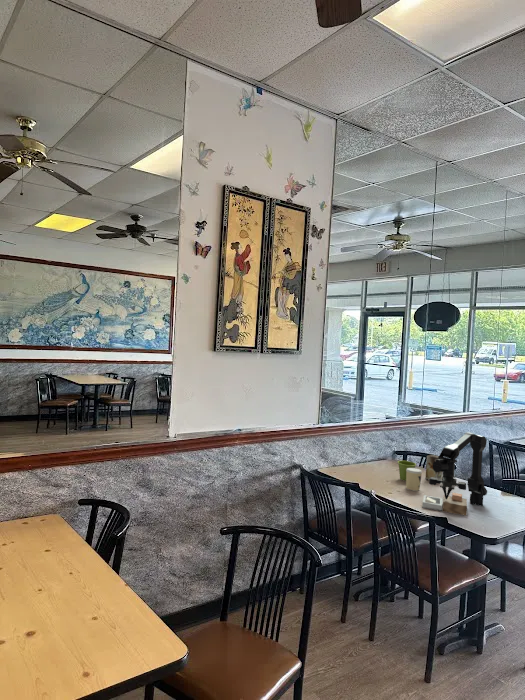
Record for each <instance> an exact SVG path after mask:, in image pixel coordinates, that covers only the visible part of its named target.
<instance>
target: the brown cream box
mask: <svg viewBox="0 0 525 700" xmlns="http://www.w3.org/2000/svg"><path fill="white" fill-rule="evenodd" d="M442 498H443V499H442V511H441V512H444V513H449V514H456V515H460V516H461V515H462V516H467V510H468V501H467V500H468V499H467V498H463V497H462V501H458V500H452V495H451V496H450V495H449V496H448V498H447V499H445V495H444V494H443V496H442Z"/></svg>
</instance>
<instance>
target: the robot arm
mask: <svg viewBox="0 0 525 700" xmlns="http://www.w3.org/2000/svg"><path fill="white" fill-rule="evenodd" d="M487 443H488V440H487V438H486V437H485V436H483V435H479V434H475V433H473V432H470V431H469V432H467V431H466V432H464V434H463V435H462V436H461V437H460V438H459V439H457V440H456V441H455V442H454V443H453V444H452V443H451V444H448V445H446V446H444V447H443V448H442V449H441V452H440V454H439V455H438V456H439V457H438V459H436V461H435V462H434V463H433V465H432V467H433V470H434V471H435V472H442V480H437V478H434V477H430V480H428V482H429V483H428V484H429V485H432V486H436V485H437V484H439V485H440V486H439V487H440V488H442V492H443V496H444V495H445V499H447V498H448V496H450V494H451V492H452V491H453V490H455V487H457V488H458V489H459V490H462V491H466V490H468V492H471V493H469V502H470V505H473V506H474V505H475V506H476V505H477V506H481V507H484V496H485V497H486V496H487V493H488V490H487V488H486V486H485V481H484V479H483V476H482V469H483V467H482V466H483V451H484V450H485V449H486V447H487ZM469 444H470V447H471V449H472V460H471V461H472V462H471V463H472V464H471V476H470V477H468V478H467V483H466V482H464V481H457V480H458V479H457V478H454V477H455V467H456V465H455V464H456V463H458V460H457V458H458V457H459V456H460V452H461V451H462V450H463V449H464V448H465V447H467V446H468V445H469Z"/></svg>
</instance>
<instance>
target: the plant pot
mask: <svg viewBox="0 0 525 700" xmlns="http://www.w3.org/2000/svg"><path fill="white" fill-rule="evenodd" d="M397 464H398V470H399V471H398V473H399V480H401V481H405V482H406V469H407V468H415V467H416V466H417V463H415V462H414V461H410V460H409V461H408V460H398V461H397Z"/></svg>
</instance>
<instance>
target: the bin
mask: <svg viewBox="0 0 525 700" xmlns="http://www.w3.org/2000/svg"><path fill="white" fill-rule="evenodd" d="M427 497H429V498H431V499H433V500H435V501H436V504H434V503H428V502H425V500H426V498H427ZM421 504H422V506H421V507H422V508H424V509H429V510H434V511H439V512H443V511H442V509H443V497H437V496H431V495H425V494H424V495H423V498H422V503H421Z"/></svg>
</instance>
